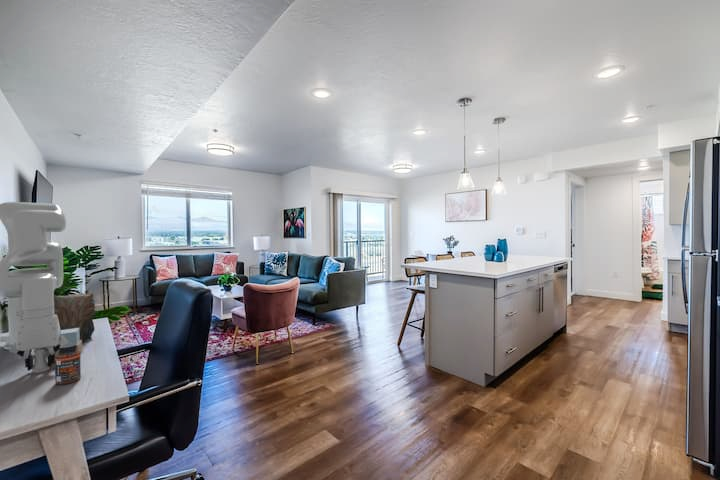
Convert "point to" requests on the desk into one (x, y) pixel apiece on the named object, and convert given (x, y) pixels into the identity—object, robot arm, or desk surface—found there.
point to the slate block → (71, 335)
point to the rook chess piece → (40, 361)
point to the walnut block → (79, 347)
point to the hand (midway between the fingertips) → (40, 366)
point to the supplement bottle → (67, 364)
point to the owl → (76, 313)
